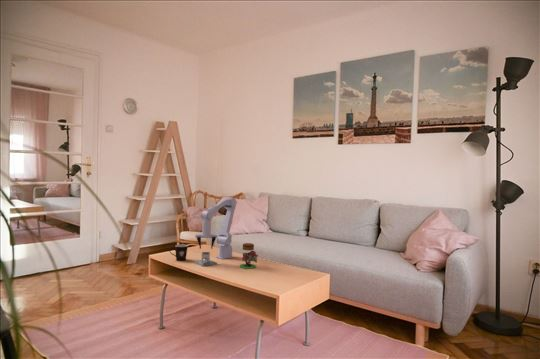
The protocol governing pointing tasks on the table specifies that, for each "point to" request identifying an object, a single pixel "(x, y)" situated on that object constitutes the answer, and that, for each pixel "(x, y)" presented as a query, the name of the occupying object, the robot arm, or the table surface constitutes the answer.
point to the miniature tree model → (249, 256)
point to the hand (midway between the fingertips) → (206, 248)
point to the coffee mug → (180, 252)
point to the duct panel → (205, 264)
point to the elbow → (205, 257)
